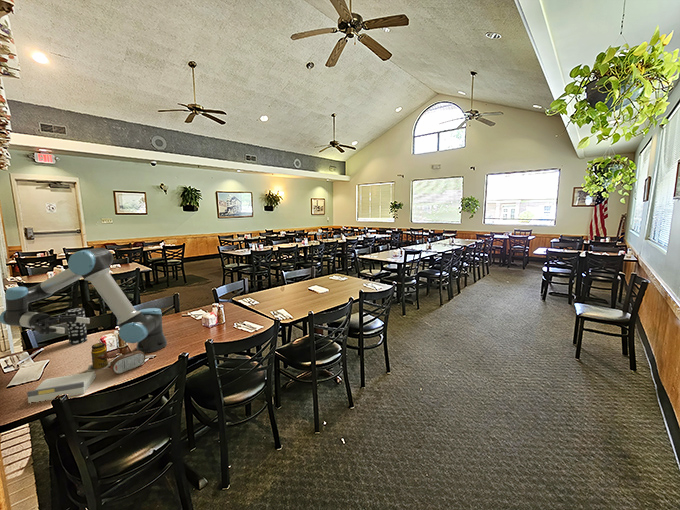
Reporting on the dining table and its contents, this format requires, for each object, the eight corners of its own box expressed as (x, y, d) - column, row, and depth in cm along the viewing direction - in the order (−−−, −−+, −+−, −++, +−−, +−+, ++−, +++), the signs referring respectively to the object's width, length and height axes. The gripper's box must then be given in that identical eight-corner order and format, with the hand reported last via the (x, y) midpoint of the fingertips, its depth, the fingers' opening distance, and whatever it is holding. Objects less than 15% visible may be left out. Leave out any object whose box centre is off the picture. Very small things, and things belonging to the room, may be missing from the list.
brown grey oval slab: (144, 362, 154) (142, 347, 152) (147, 364, 152) (145, 349, 151) (110, 375, 141) (108, 359, 140) (113, 377, 139) (111, 361, 138)
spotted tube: (90, 340, 179) (87, 308, 176) (74, 345, 171) (71, 313, 168) (81, 338, 182) (78, 307, 179) (65, 343, 174) (61, 311, 171)
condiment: (108, 367, 148) (105, 345, 146) (86, 372, 143) (83, 349, 142) (109, 361, 154) (107, 340, 152) (88, 366, 149) (86, 344, 148)
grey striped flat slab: (95, 377, 139) (94, 367, 139) (83, 394, 126) (82, 383, 126) (46, 385, 132) (44, 375, 131) (28, 404, 119) (26, 392, 119)
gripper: (60, 319, 159) (98, 323, 159) (7, 337, 135) (52, 343, 134) (60, 306, 159) (98, 310, 158) (6, 322, 134) (51, 327, 133)
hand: (77, 325), depth 146 cm, fingers open, 13 cm apart
